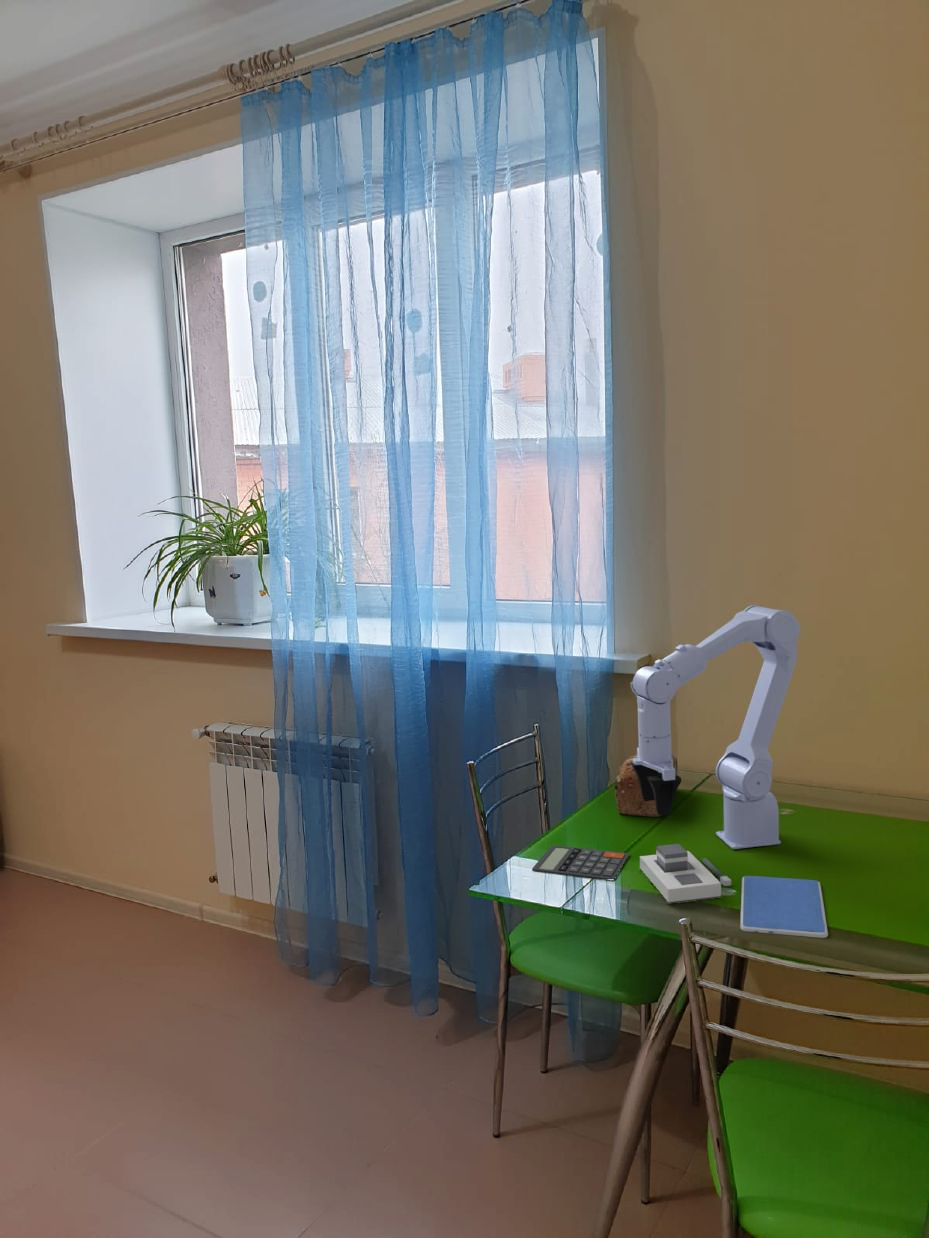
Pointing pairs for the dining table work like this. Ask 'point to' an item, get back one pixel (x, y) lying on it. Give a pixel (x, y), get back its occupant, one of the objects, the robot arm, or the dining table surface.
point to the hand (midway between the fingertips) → (656, 807)
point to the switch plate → (682, 880)
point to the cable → (717, 873)
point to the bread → (633, 792)
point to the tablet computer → (782, 906)
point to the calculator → (581, 862)
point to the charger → (672, 858)
